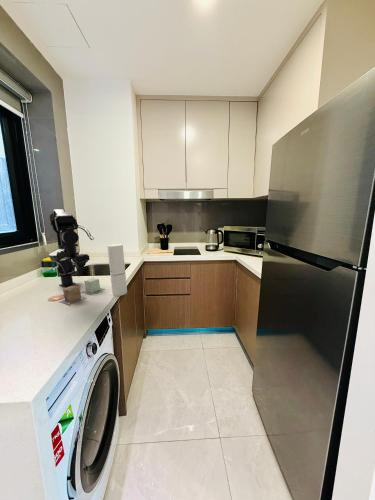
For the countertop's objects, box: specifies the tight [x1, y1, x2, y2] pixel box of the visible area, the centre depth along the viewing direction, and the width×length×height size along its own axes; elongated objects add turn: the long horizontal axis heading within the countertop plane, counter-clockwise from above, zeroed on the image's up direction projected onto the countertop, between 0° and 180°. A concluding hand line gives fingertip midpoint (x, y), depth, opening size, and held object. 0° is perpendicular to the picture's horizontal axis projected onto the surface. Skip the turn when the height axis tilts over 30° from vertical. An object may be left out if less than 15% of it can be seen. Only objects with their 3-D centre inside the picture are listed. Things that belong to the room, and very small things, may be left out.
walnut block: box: [62, 285, 82, 303], centre depth 96 cm, size 5×5×6 cm
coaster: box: [47, 294, 65, 302], centre depth 100 cm, size 8×8×1 cm
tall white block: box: [107, 243, 128, 297], centre depth 101 cm, size 7×7×25 cm
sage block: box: [83, 277, 101, 293], centre depth 107 cm, size 5×5×6 cm
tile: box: [58, 295, 88, 306], centre depth 97 cm, size 9×9×1 cm
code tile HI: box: [80, 287, 106, 296], centre depth 108 cm, size 9×9×1 cm
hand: (72, 275), depth 96 cm, fingers open, 9 cm apart
